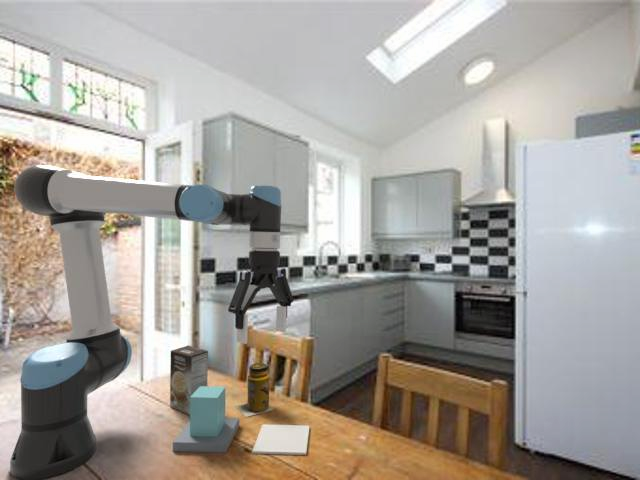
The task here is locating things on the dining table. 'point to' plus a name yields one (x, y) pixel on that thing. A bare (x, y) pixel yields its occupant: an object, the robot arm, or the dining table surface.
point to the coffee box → (187, 375)
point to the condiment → (257, 391)
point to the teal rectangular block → (207, 411)
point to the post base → (207, 439)
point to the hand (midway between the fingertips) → (262, 336)
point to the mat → (282, 439)
